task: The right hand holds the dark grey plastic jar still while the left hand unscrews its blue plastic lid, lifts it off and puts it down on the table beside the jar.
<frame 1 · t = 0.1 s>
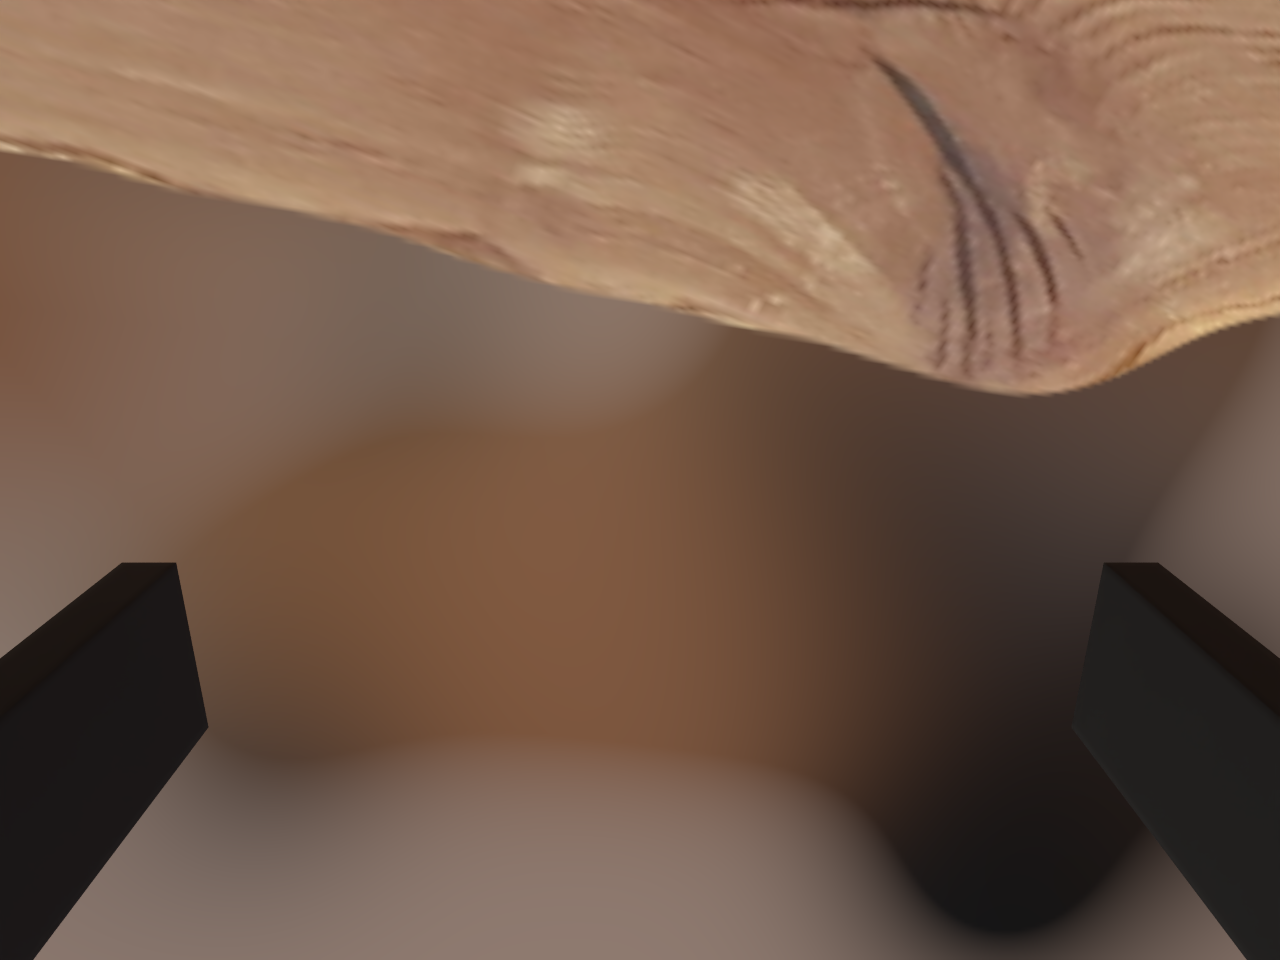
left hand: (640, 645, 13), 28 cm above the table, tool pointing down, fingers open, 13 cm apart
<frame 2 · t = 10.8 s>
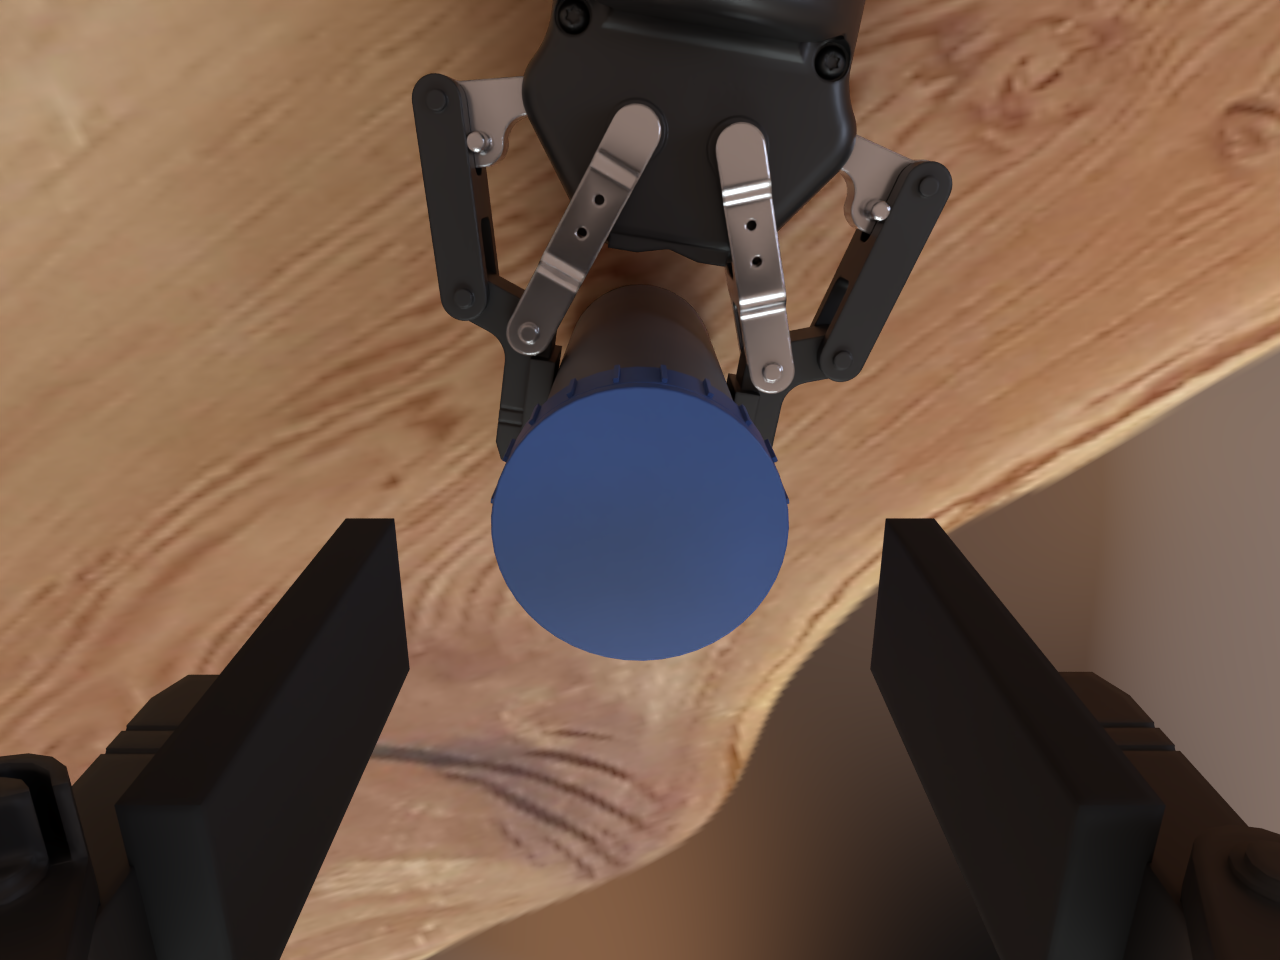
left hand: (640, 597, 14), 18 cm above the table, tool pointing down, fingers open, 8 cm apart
right hand: (627, 487, 26), fingers closed on jar, 5 cm apart
jar: (640, 356, 31), on the table, touching right hand
lid: (639, 524, 17), point 15 cm above the table, screwed on, not yet turned
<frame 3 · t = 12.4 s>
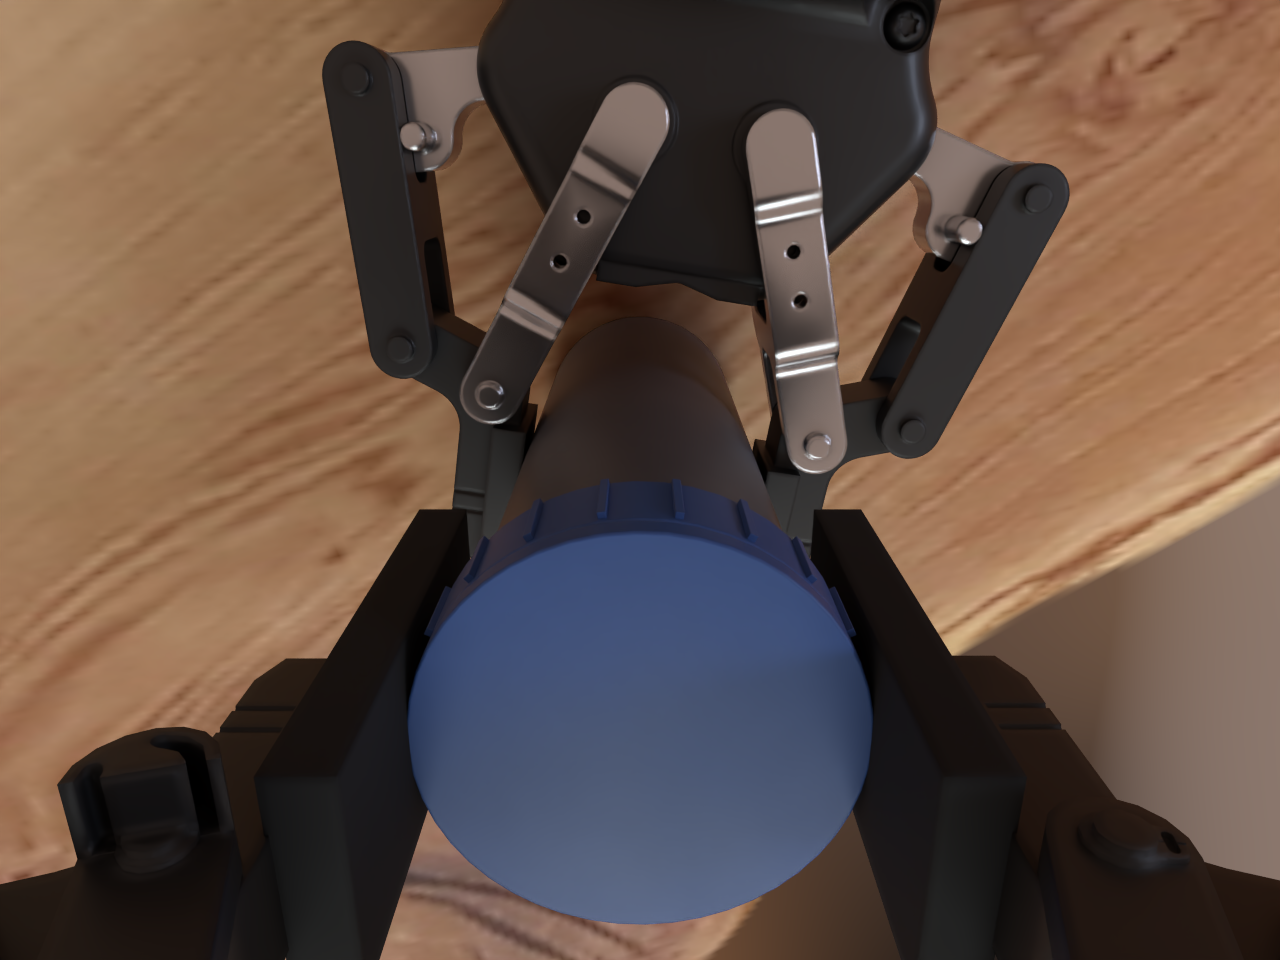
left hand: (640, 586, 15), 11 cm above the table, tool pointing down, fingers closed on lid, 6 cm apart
right hand: (623, 586, 20), fingers closed on jar, 5 cm apart
jar: (639, 404, 25), on the table, touching right hand
lid: (640, 728, 11), point 15 cm above the table, screwed on, not yet turned, touching left hand
when the left hand's fingers open (12 cm above the table, at t = 13.7 s): lid stays where it is, point 15 cm above the table.
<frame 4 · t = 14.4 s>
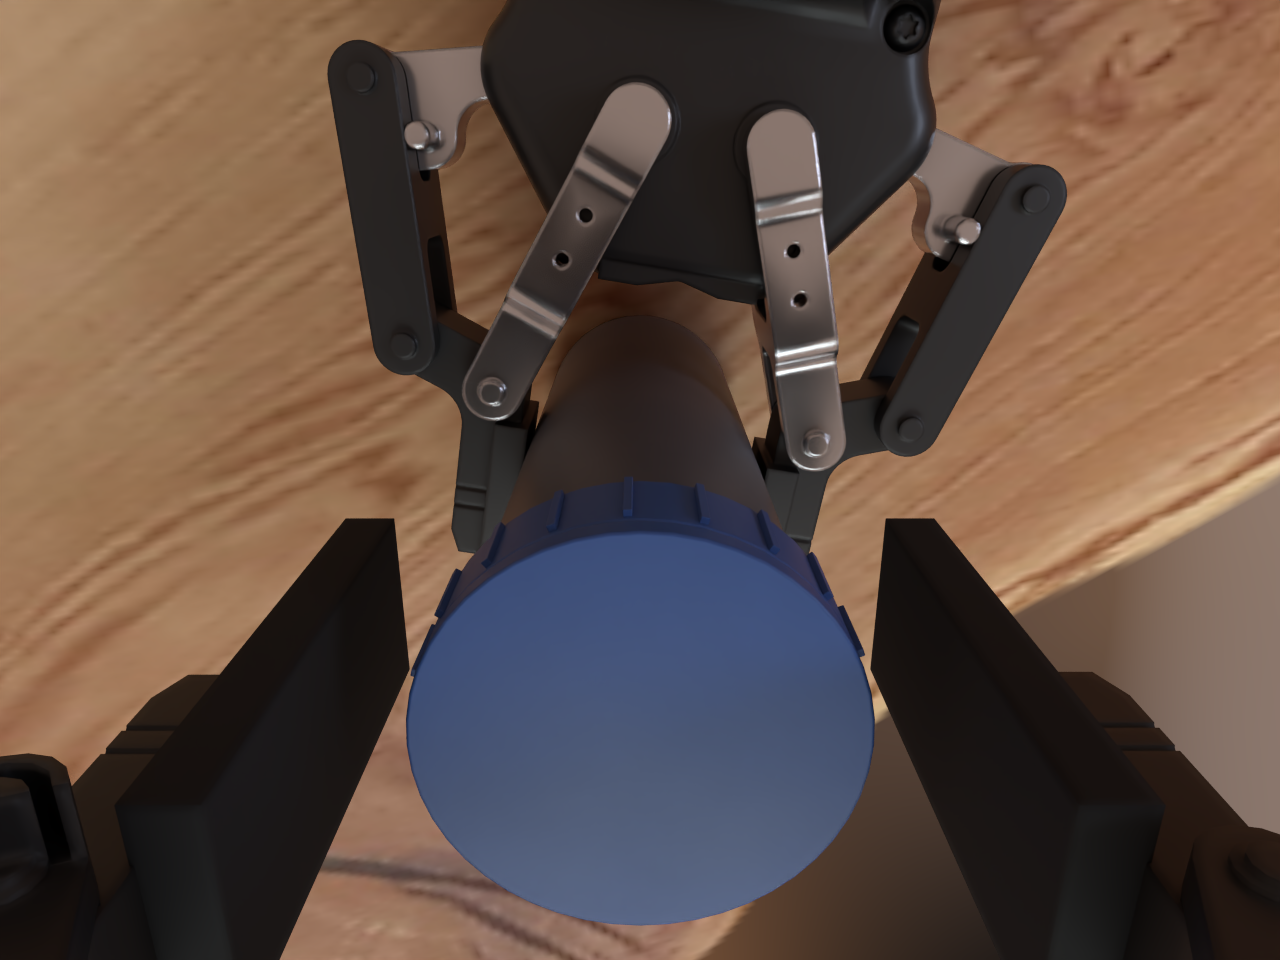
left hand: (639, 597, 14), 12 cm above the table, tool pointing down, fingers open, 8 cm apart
right hand: (622, 583, 20), fingers closed on jar, 5 cm apart
jar: (640, 402, 25), on the table, touching right hand
lid: (640, 729, 11), point 15 cm above the table, turned 66° so far, risen 0.2 cm, still on its thread
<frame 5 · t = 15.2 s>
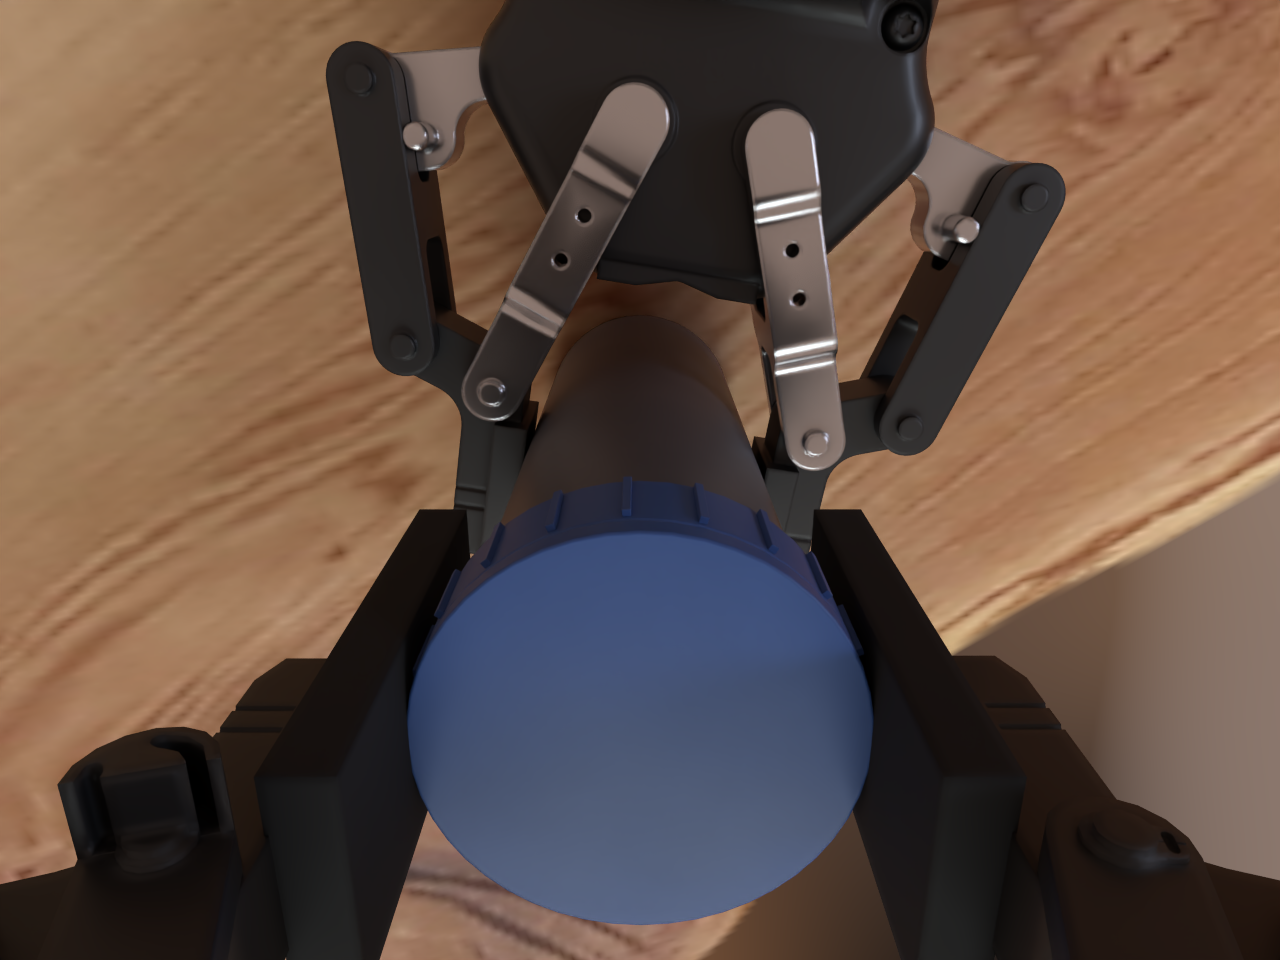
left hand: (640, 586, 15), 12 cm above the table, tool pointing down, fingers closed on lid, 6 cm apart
right hand: (623, 583, 20), fingers closed on jar, 5 cm apart
jar: (640, 402, 25), on the table, touching right hand
lid: (640, 728, 11), point 15 cm above the table, turned 66° so far, risen 0.2 cm, still on its thread, touching left hand
when the left hand's fingers open (0 cm above the table, at t = 22.1 s): lid drops 3 cm, point 1 cm above the table.
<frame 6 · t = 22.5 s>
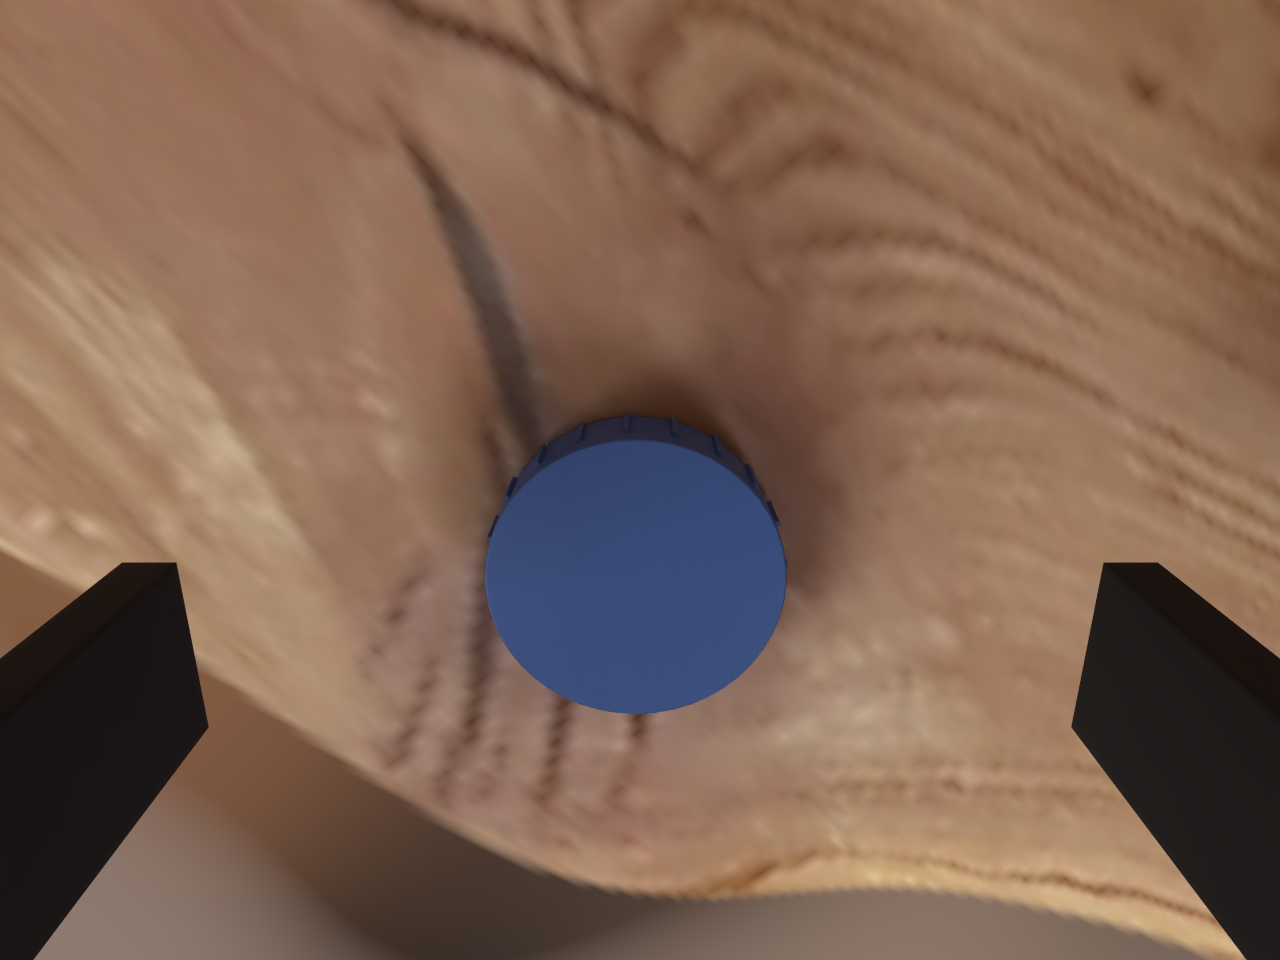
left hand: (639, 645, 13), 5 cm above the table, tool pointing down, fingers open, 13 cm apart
lid: (635, 576, 17), point 1 cm above the table, off its thread
when the right hand's fingers open (6 cm above the table, at t = 22.8 s): jar stays where it is, on the table.
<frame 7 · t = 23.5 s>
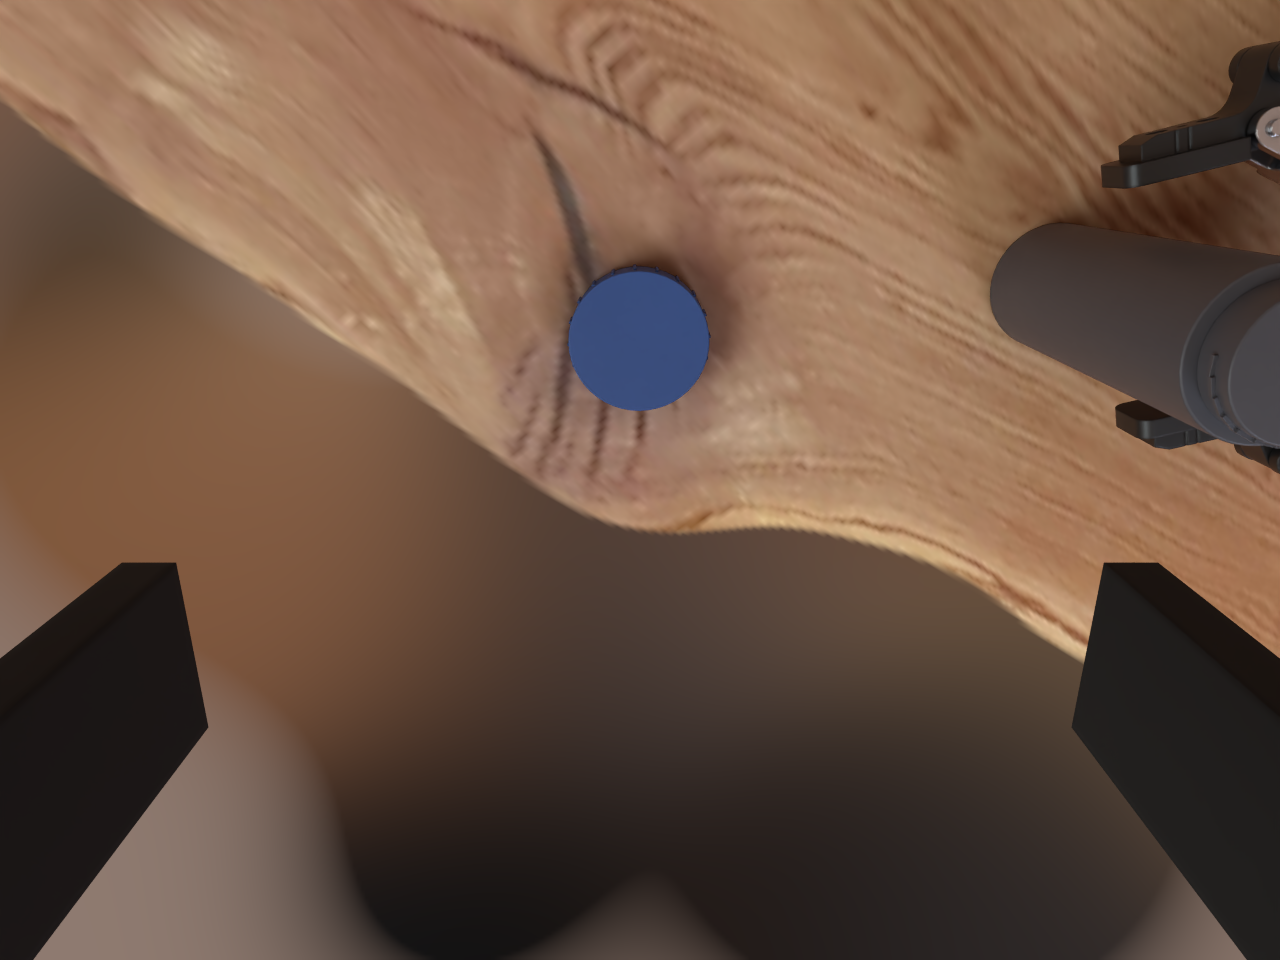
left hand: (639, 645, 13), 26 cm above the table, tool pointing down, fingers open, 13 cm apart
jar: (1050, 286, 36), on the table
lid: (638, 341, 36), point 1 cm above the table, off its thread
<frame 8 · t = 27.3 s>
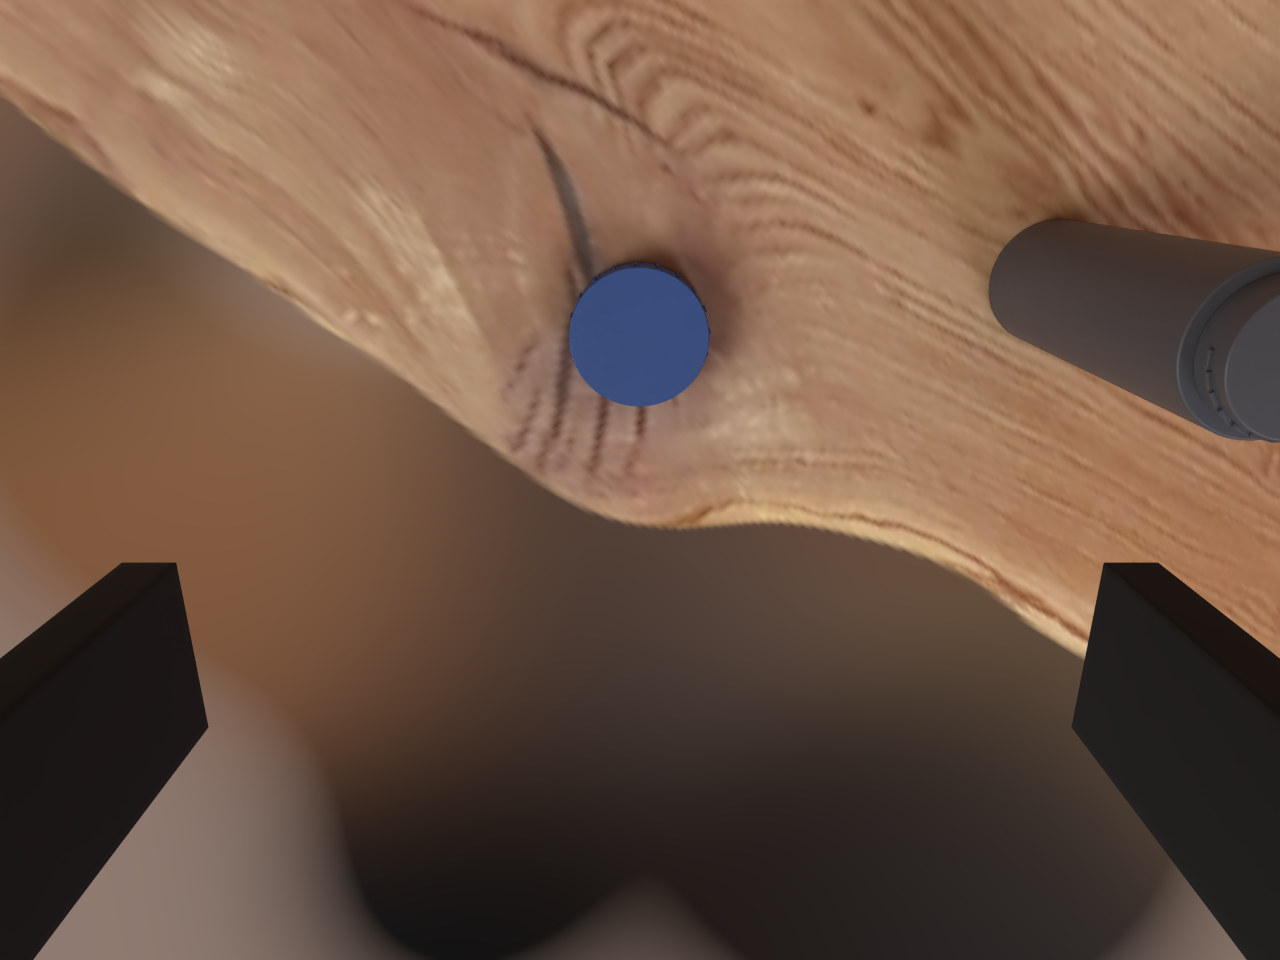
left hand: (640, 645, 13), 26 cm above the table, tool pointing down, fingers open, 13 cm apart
jar: (1049, 282, 37), on the table
lid: (639, 337, 36), point 1 cm above the table, off its thread
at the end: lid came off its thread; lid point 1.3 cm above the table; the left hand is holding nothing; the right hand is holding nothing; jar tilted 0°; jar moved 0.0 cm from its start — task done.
